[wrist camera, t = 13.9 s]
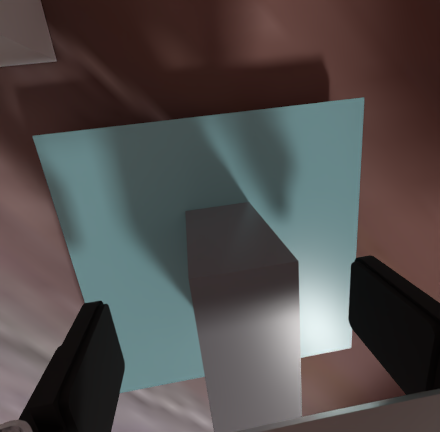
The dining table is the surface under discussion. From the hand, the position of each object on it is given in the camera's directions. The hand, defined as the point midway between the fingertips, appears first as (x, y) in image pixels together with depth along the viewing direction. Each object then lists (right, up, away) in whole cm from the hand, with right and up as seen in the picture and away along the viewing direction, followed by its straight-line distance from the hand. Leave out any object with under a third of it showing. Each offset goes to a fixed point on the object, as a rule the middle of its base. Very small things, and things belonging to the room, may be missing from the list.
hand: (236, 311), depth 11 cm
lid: (-1, +2, +6) cm, 6 cm away
